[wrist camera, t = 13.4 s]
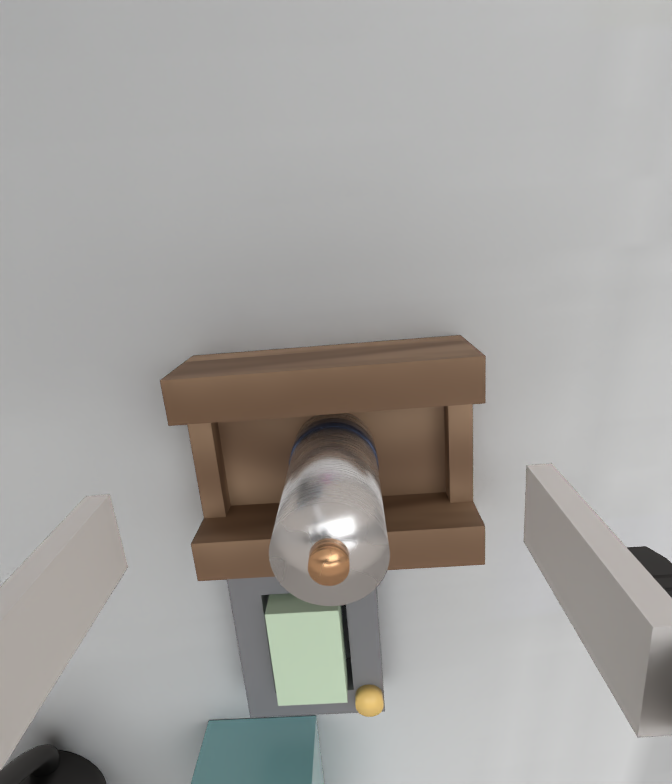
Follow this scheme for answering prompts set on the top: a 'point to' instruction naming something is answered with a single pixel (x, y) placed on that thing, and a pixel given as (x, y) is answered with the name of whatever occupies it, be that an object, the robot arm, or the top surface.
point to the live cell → (331, 515)
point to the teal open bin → (260, 752)
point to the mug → (50, 768)
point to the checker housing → (257, 662)
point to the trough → (321, 397)
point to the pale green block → (306, 651)
